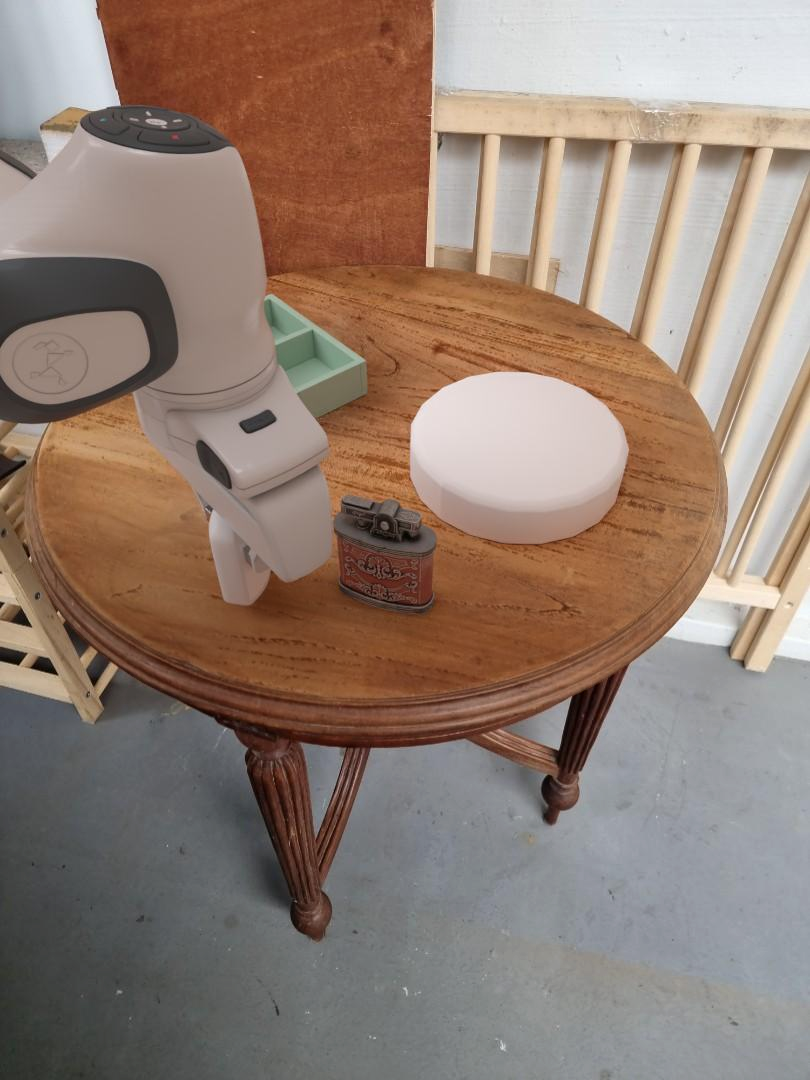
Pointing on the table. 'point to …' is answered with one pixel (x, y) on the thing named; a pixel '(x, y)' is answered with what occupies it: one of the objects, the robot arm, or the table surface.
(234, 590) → the eye dropper bottle
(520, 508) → the container
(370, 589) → the lighter
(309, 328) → the grid
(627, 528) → the table surface
